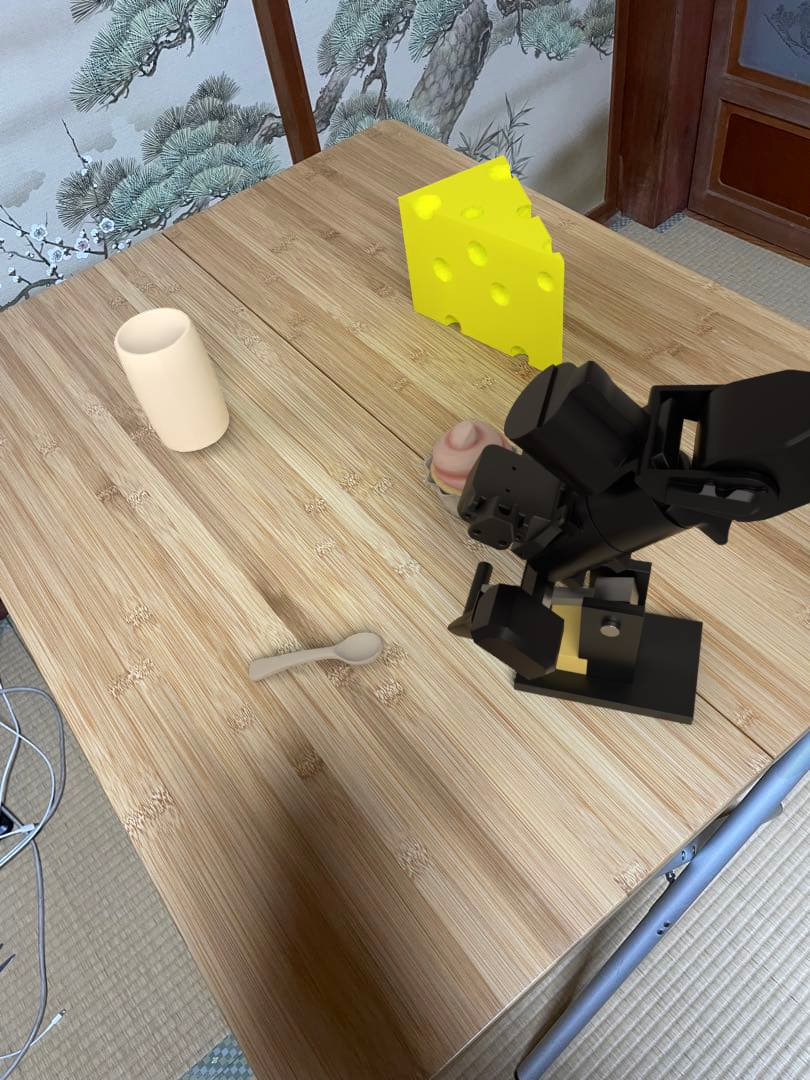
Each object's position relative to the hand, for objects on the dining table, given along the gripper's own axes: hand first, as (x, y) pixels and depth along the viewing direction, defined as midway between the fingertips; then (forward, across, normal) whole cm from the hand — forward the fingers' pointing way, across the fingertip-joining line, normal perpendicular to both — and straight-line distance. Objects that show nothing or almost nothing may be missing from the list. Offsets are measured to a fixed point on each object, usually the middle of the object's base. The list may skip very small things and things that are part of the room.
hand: (466, 582), depth 66 cm
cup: (+31, -19, -20) cm, 42 cm away
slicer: (-3, 0, +14) cm, 14 cm away
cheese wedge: (+12, -43, 0) cm, 45 cm away
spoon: (+14, +6, -3) cm, 16 cm away
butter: (-1, 0, +10) cm, 11 cm away
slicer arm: (-4, 0, +6) cm, 7 cm away
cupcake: (+8, -15, +3) cm, 17 cm away
